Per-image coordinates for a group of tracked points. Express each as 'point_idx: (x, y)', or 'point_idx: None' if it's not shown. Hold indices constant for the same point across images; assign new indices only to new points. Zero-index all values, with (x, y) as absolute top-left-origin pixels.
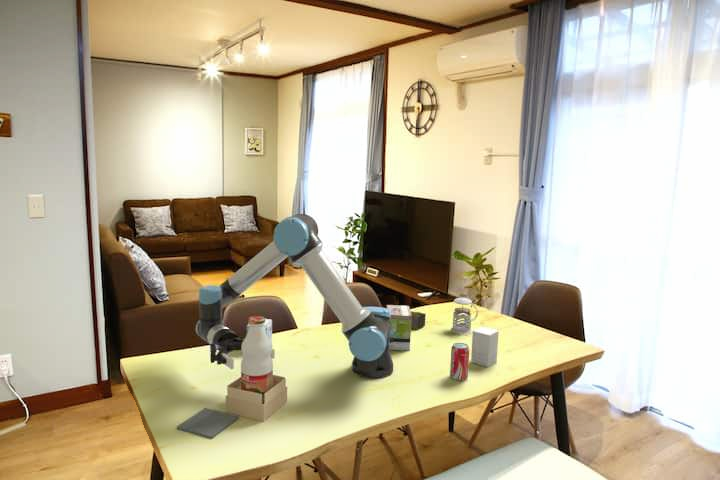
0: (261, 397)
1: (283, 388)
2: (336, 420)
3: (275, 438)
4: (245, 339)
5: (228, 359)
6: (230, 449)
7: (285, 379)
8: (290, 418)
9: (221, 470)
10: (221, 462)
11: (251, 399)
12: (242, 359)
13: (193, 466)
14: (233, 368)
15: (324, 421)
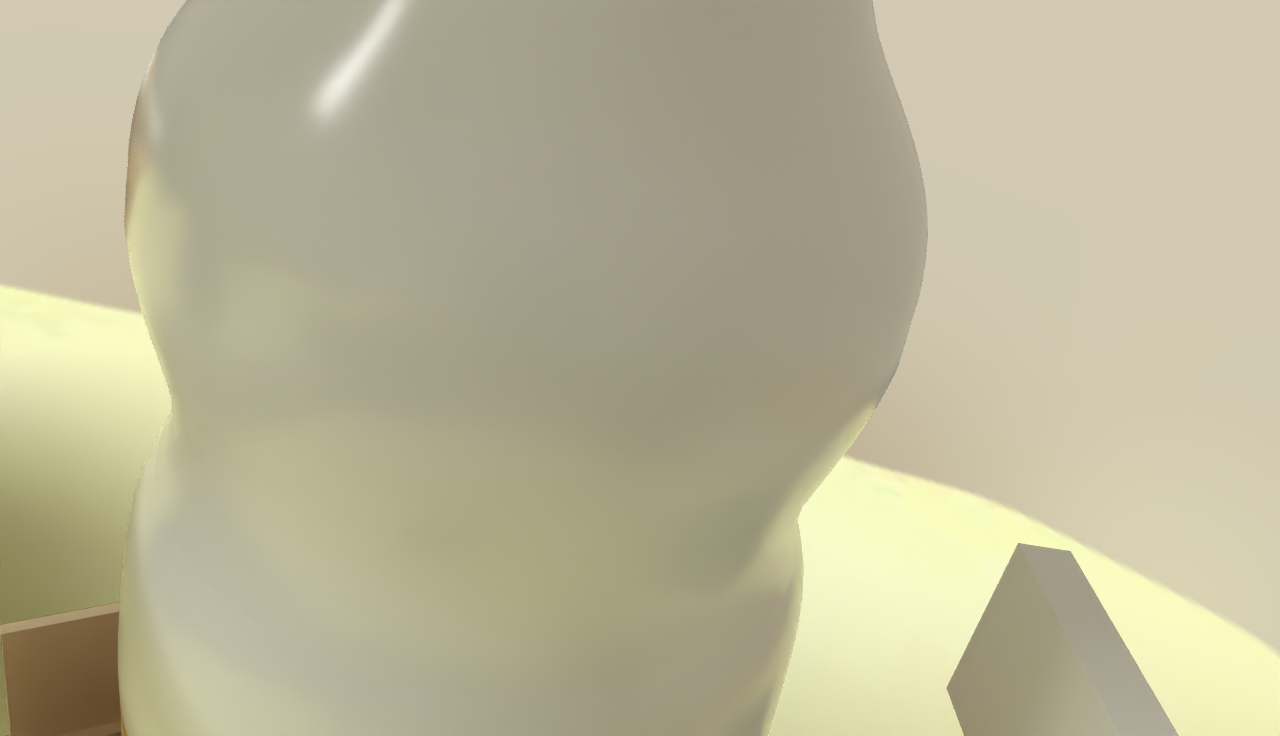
0: None
1: (88, 706)
2: (65, 411)
3: None
4: (886, 62)
5: (1119, 669)
6: (924, 621)
7: (13, 631)
8: None
9: (1007, 521)
10: (1000, 565)
11: None
12: (788, 576)
13: (1172, 632)
14: (954, 685)
15: (141, 451)
